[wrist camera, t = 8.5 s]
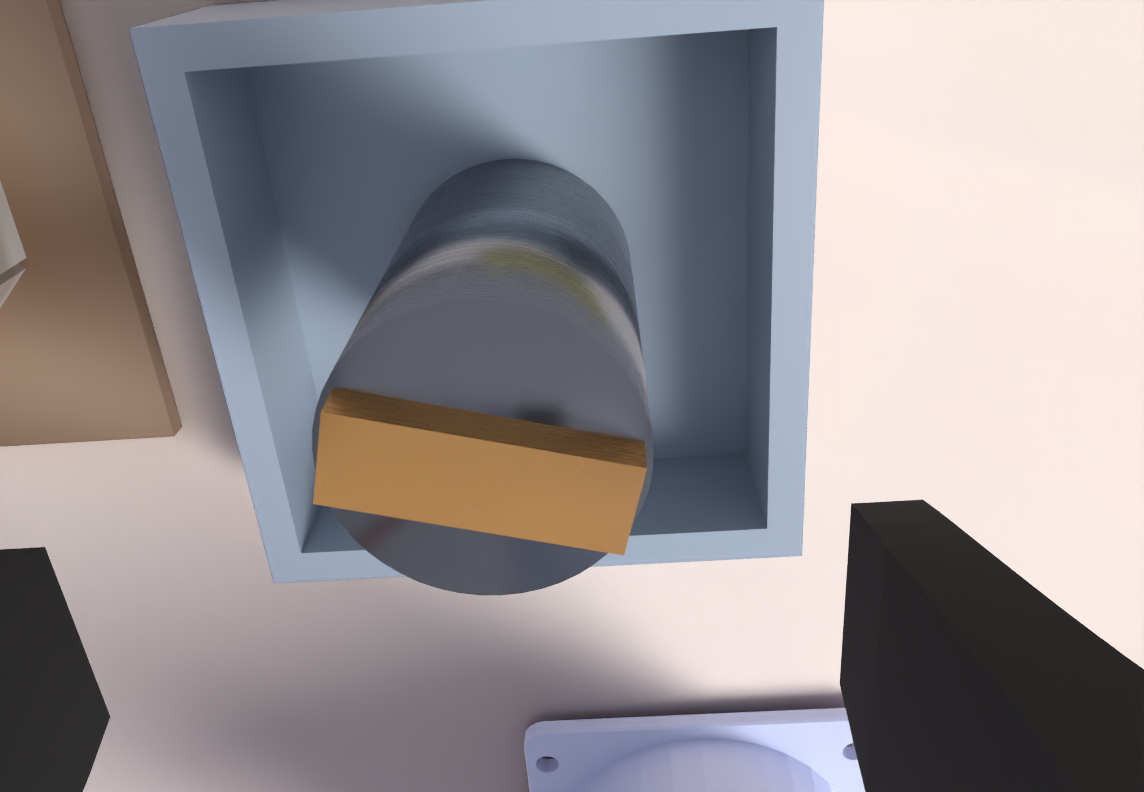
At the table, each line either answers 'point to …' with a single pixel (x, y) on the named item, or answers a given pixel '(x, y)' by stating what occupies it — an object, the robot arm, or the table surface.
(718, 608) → the table surface
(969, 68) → the table surface
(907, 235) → the table surface
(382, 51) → the bin
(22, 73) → the socket plate
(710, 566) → the table surface
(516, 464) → the cylinder with rectangular bar
